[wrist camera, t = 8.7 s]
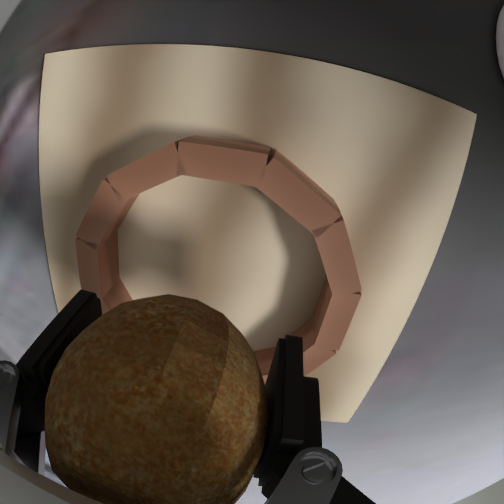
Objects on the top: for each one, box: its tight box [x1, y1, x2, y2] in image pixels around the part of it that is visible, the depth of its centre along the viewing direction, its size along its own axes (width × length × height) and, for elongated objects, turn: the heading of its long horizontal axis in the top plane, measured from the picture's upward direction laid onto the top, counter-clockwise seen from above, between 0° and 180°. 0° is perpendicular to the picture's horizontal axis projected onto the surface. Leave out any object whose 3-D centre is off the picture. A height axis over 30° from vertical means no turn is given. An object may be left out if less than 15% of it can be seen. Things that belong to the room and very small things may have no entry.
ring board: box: [39, 44, 477, 423], centre depth 15 cm, size 20×20×3 cm
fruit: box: [45, 294, 269, 504], centre depth 8 cm, size 6×6×8 cm
